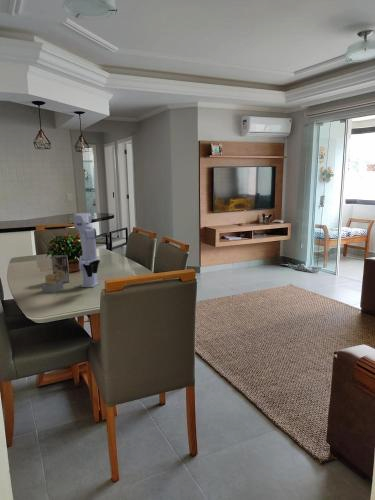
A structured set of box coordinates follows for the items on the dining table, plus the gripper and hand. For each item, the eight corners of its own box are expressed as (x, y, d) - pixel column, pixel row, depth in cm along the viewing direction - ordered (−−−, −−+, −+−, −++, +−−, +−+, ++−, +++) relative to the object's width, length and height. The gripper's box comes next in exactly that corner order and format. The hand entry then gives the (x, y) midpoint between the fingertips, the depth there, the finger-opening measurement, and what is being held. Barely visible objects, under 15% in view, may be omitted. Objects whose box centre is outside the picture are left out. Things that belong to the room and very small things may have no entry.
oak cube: (50, 282, 207) (49, 274, 206) (58, 282, 207) (57, 274, 206) (45, 284, 202) (45, 276, 202) (54, 285, 202) (53, 276, 201)
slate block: (52, 288, 210) (51, 281, 209) (63, 289, 207) (62, 282, 206) (42, 292, 203) (41, 285, 202) (53, 293, 200) (53, 286, 199)
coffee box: (69, 279, 227) (67, 254, 224) (69, 282, 221) (67, 256, 218) (54, 280, 224) (52, 255, 221) (53, 283, 218) (51, 257, 215)
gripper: (88, 248, 203) (90, 271, 206) (78, 253, 189) (80, 278, 192) (100, 248, 202) (102, 271, 205) (91, 253, 188) (93, 278, 191)
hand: (92, 274), depth 198 cm, fingers open, 7 cm apart
